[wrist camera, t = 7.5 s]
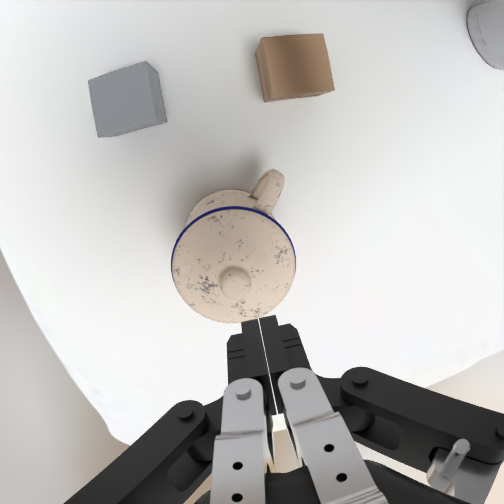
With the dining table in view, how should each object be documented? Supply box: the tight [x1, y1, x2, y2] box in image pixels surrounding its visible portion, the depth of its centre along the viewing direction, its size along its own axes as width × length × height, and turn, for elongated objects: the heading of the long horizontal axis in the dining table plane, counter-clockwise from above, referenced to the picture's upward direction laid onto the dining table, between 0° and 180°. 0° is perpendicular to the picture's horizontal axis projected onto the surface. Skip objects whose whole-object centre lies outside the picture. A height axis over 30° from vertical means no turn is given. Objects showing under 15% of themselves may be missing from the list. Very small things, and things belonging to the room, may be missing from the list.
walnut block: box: [255, 34, 335, 102], centre depth 24 cm, size 5×5×5 cm
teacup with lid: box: [171, 169, 296, 323], centre depth 25 cm, size 12×9×12 cm
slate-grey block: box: [88, 61, 167, 138], centre depth 24 cm, size 5×5×5 cm
